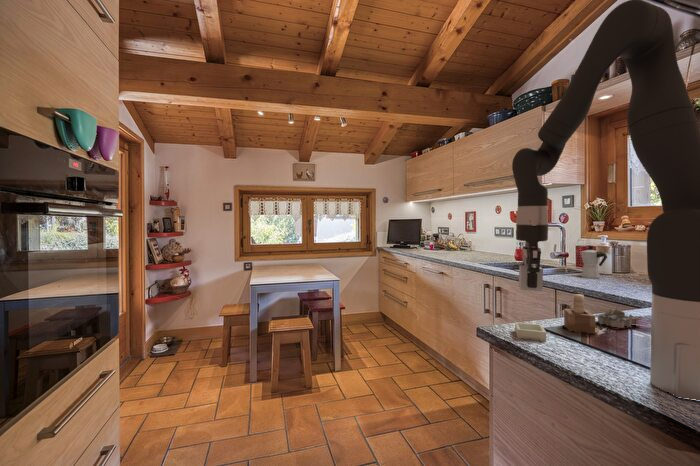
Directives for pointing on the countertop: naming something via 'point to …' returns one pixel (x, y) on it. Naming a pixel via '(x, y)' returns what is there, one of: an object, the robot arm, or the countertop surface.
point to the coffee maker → (591, 262)
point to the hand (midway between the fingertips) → (530, 285)
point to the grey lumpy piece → (617, 318)
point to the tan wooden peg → (578, 304)
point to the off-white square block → (524, 279)
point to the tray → (530, 331)
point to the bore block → (579, 321)
